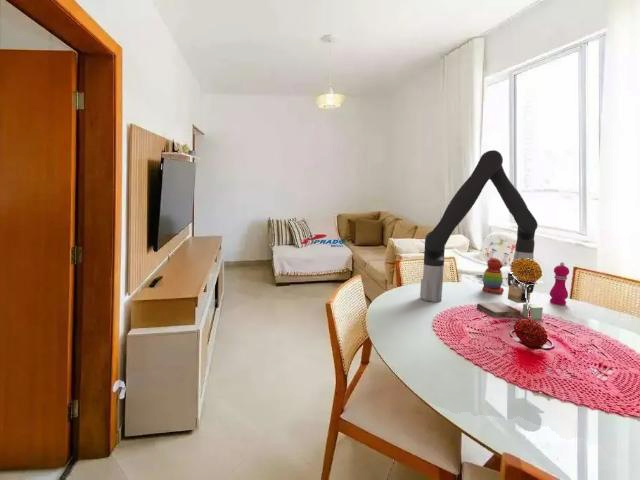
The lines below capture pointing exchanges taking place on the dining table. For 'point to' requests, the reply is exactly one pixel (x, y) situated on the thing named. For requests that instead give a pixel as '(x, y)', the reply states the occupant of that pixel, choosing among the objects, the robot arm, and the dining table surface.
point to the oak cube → (516, 294)
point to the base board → (498, 309)
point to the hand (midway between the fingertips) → (518, 298)
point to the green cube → (533, 311)
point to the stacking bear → (493, 277)
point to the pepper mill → (559, 285)
